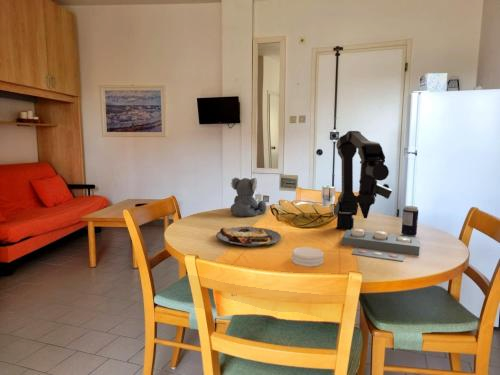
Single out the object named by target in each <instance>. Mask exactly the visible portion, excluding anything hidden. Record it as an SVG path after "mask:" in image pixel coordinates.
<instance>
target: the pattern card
mask: <svg viewBox="0 0 500 375" xmlns="http://www.w3.org/2000/svg"><path fill="white" fill-rule="evenodd" d="M353 254H355V256H359V257H360V256H362V257H367V258H368V257H369V258H377V259H380V260H381V259H382V260H388V261H389V260H390V261H398V262H403V261H404V253H398V252H390V251H383V250H376V249H368V248H361V247H353V251H352V252H351V255H353Z"/></svg>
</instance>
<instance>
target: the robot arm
mask: <svg viewBox="0 0 500 375" xmlns="http://www.w3.org/2000/svg"><path fill="white" fill-rule="evenodd" d="M336 149H337V155H338V156H339V157H340V160H341V192H340V194H339V196H338V197H337V202H336V204H335V206H334V207H333V214H334V215H337V216H336V226H335V229H338V230H345V231H346V230H352V229H354V225H355V224H354V223H355V218H354V216H357V214H358V210H359V208H360V211H361V214H362V217H363V219H368V217H369V216H368V215H369V213H370V212H369V211H370V210H371V209H370V208H371V206H372V205H375V202H376V198H377V196H381V197H383V199H384V198H385V199H387V200H388V199H390V196H391V194H392V192H393V189H392V188H390V184H388V183H384V184H379V183H378V181H380V182H381V181H384V180H386V179H387V178H388V176H389V174H390V171H389V167H388V166H387V165H386V164H385V163H386V160H385V159H386V156H385V152H384V151H383V147H382V146H381V144H380V142H376V141H370V140H369V139H367V138H366V137H365V136H364V135H363V134H362V133H361V131H358V130H348V131H347V132H346V133H345V134H343V135H341V136H340V137H339V138H338V140H337V141H336ZM356 154H358V156H359V158H360V161H359V164H360V174H359V181H358V182H359V187H358V188H359V190H358V194H357V195H355V193H354V189H353V188H354V185H353V184H354V176H353V175H354V173H353V172H354V170H353V168H354V166H353V165H354V164H353V160H354V157H355V155H356Z"/></svg>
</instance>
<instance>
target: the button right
mask: <svg viewBox="0 0 500 375" xmlns="http://www.w3.org/2000/svg"><path fill="white" fill-rule="evenodd" d="M397 241H399V242H407V243H410V239H408V238H402V237H400V238H397Z"/></svg>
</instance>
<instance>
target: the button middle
mask: <svg viewBox="0 0 500 375" xmlns="http://www.w3.org/2000/svg"><path fill="white" fill-rule="evenodd" d="M373 233H374V239H383V240H387V234H388V233H387V231H381V230H376V231H374V232H373Z"/></svg>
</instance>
